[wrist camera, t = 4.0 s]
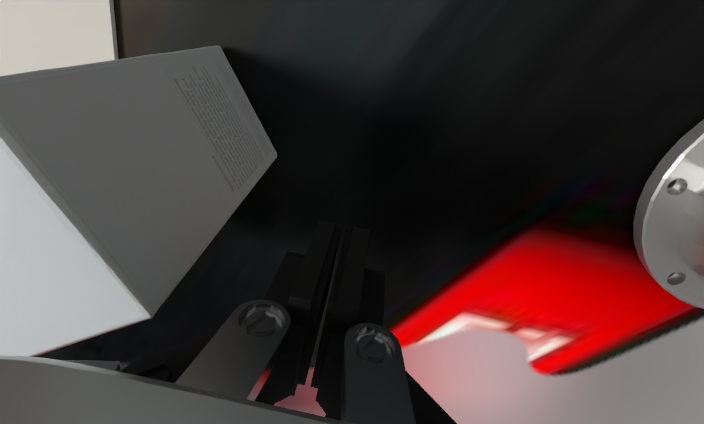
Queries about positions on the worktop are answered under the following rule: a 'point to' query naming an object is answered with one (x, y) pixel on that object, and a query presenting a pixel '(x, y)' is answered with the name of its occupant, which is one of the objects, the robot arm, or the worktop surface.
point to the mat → (55, 34)
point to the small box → (115, 188)
